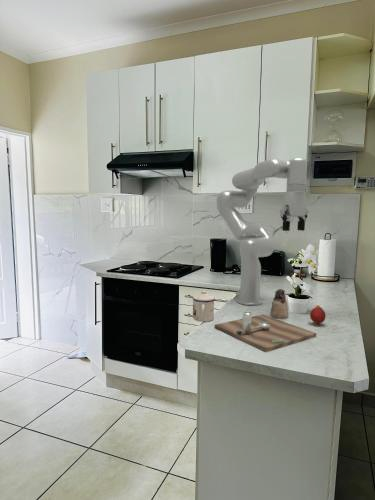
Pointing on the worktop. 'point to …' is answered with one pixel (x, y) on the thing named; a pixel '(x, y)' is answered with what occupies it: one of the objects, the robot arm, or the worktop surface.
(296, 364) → the worktop surface
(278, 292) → the tan brown ceramic jug
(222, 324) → the wooden cutting board
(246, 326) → the dial lever
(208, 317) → the teacup with lid
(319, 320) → the onion
